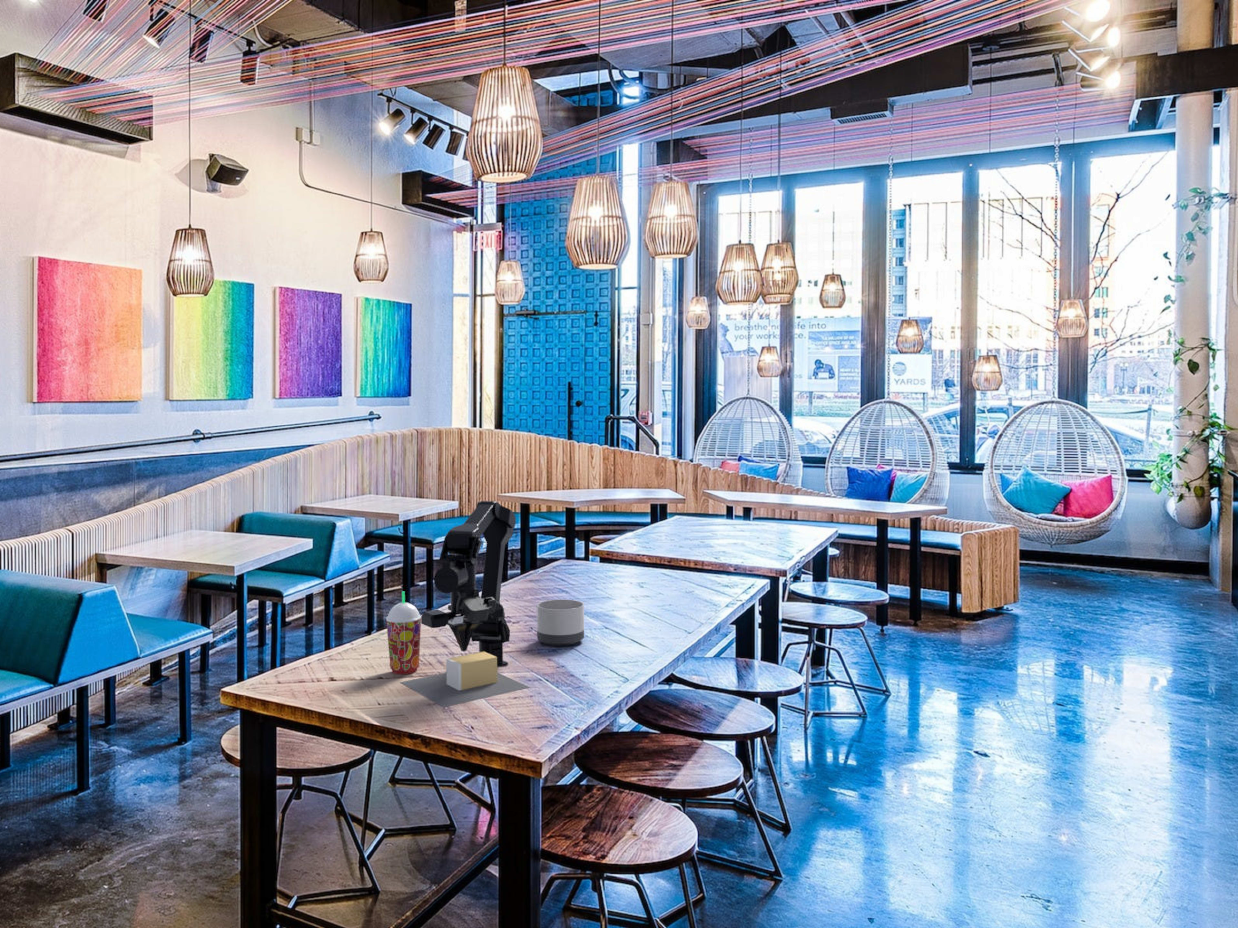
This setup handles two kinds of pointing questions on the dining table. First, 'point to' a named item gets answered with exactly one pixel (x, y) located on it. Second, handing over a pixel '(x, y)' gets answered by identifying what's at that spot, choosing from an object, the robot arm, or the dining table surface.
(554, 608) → the planter
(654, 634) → the dining table surface
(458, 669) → the pale yellow block
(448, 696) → the charcoal mat
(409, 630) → the smoothie
